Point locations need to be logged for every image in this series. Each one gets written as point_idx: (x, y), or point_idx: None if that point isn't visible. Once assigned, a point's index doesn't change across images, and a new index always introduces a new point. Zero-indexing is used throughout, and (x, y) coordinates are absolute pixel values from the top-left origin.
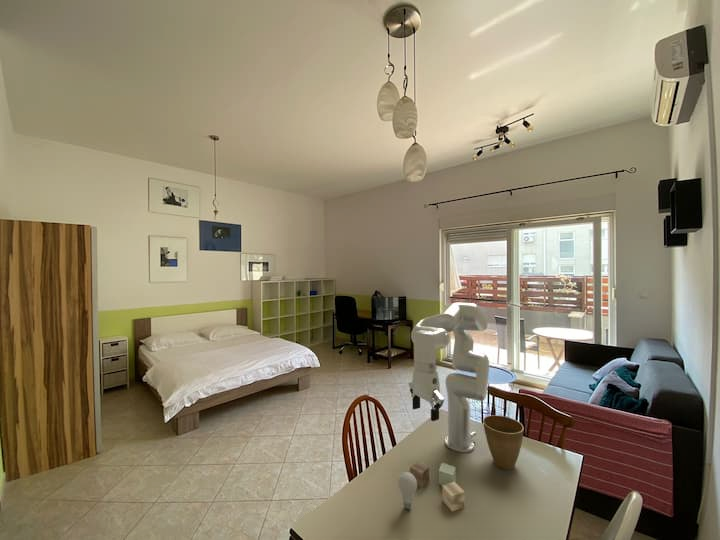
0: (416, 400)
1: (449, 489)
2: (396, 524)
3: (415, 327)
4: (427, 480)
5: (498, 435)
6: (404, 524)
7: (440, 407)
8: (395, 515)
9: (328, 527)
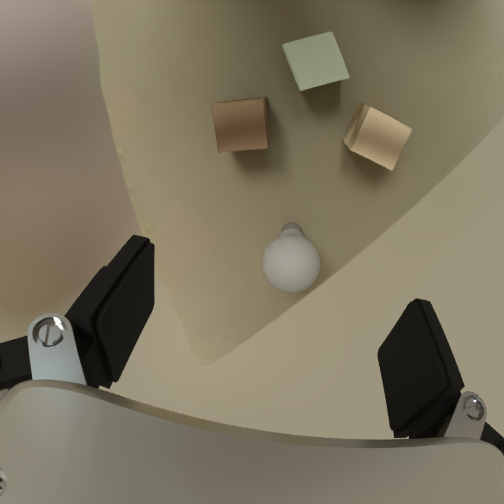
0: (118, 346)
1: (375, 150)
2: None
3: None
4: (267, 108)
5: None
6: None
7: (483, 404)
8: None
9: (219, 346)
